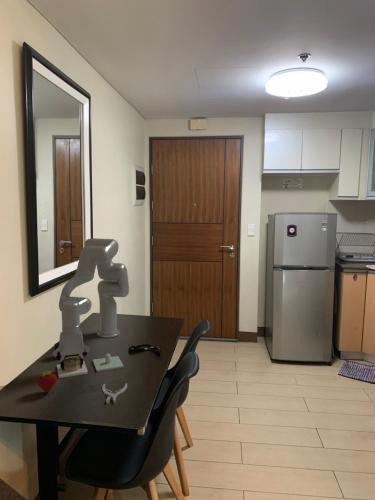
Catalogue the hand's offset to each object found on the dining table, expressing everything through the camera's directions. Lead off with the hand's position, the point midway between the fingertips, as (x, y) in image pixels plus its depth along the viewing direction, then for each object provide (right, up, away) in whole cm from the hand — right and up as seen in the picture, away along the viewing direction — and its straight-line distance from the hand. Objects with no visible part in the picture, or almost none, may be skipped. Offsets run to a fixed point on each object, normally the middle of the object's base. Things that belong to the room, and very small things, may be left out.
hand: (72, 367), depth 166 cm
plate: (+15, -1, +6) cm, 16 cm away
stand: (0, -1, 0) cm, 1 cm away
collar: (0, 0, 0) cm, 0 cm away
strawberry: (-4, -4, -20) cm, 20 cm away
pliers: (+22, -5, -20) cm, 30 cm away
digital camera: (-8, 0, +16) cm, 18 cm away
